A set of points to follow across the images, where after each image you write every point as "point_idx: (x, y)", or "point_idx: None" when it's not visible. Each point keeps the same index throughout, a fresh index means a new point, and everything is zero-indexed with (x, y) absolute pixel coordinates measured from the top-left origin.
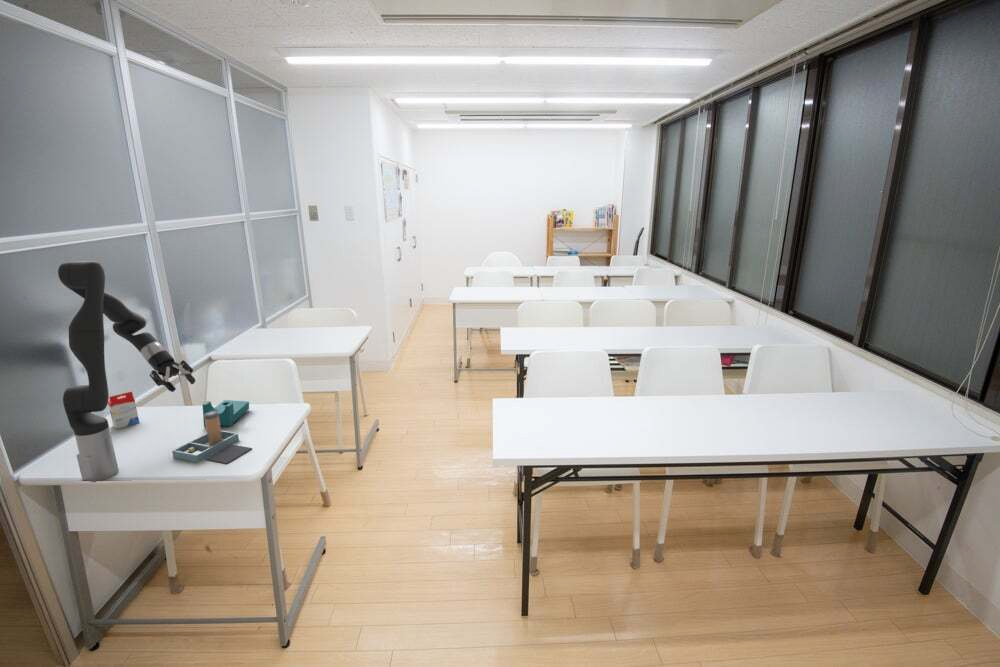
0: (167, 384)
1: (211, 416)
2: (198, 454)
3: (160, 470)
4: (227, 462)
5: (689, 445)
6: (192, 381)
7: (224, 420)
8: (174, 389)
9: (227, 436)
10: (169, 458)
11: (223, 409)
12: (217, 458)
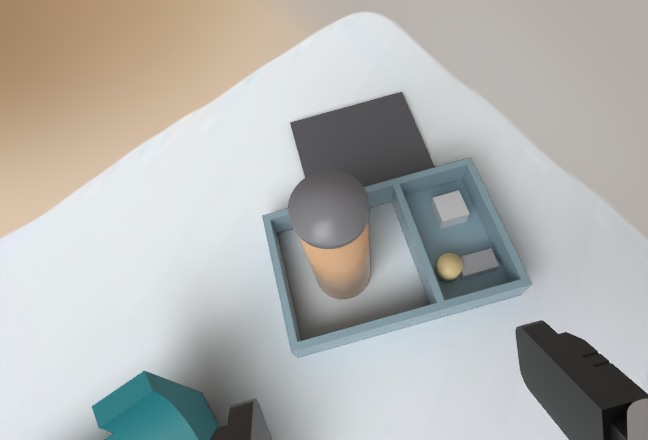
0: (634, 387)
1: (344, 173)
2: (461, 160)
3: (591, 228)
4: (397, 93)
5: None
6: (260, 424)
7: (201, 413)
8: (532, 325)
9: (284, 274)
10: (534, 305)
11: None
12: (405, 141)
